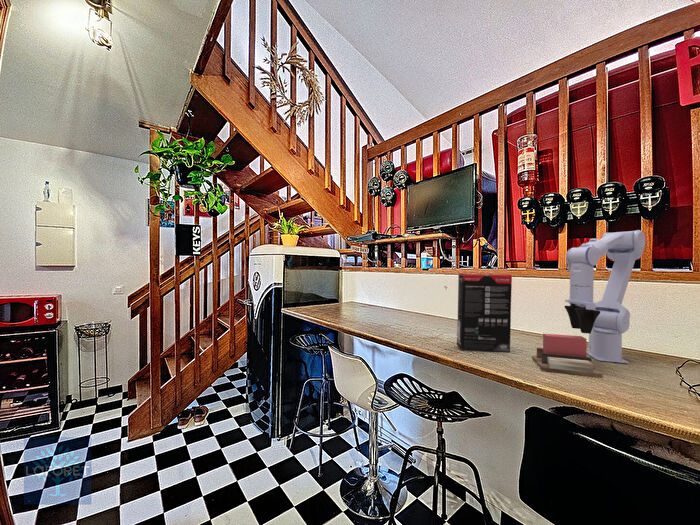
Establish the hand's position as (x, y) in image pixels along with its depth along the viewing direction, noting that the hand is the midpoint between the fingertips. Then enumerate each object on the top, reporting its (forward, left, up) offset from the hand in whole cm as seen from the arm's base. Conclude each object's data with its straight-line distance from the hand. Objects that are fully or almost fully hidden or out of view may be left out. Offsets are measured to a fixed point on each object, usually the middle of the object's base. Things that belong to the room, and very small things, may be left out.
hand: (580, 330), depth 90 cm
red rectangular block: (+3, -5, -9) cm, 11 cm away
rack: (+5, -6, -10) cm, 13 cm away
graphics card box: (-7, -27, -11) cm, 30 cm away
